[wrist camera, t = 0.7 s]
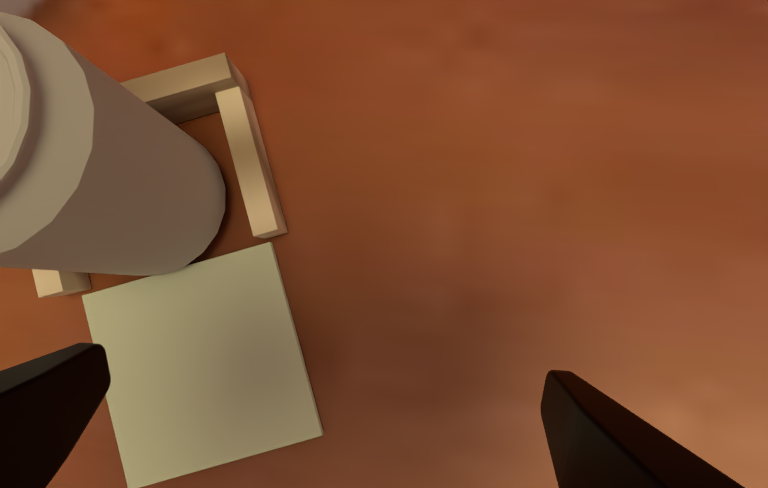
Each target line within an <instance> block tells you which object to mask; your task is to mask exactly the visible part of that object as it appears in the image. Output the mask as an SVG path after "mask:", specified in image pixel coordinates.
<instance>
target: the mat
mask: <svg viewBox="0 0 768 488" xmlns="http://www.w3.org/2000/svg"><path fill="white" fill-rule="evenodd" d="M82 299H83V303H84V307H85V311H86V316H87V320H88V324H89V328H90V332H91V336H92V340H93V343H95V344H101V345H102V346H103V347H104V348H105V351H106V355H107V361H108V366H109V371H110V376H111V383H110V387H109V389H108V391H107V393H106V398H107V403H108V407H109V411H110V415H111V419H112V423H113V427H114V432H115V436H116V440H117V444H118V448H119V452H120V456H121V461H122V465H123V469H124V473H125V477H126V481H127V485H128V488H140V487H143V486H147V485H150V484H154V483H157V482H161V481H164V480H168V479H171V478H175V477H178V476H182V475H185V474H189V473H192V472H196V471H200V470H203V469H207V468H210V467H214V466H217V465H221V464H224V463H228V462H231V461H235V460H238V459H242V458H245V457H249V456H252V455H256V454H259V453H263V452H266V451H270V450H273V449H277V448H281V447H284V446H288V445H291V444H295V443H298V442H302V441H305V440H309V439H312V438H316V437H319V436H322V435H323V433H324V432H323V429H322V425H321V421H320V418H319V414H318V410H317V407H316V403H315V399H314V395H313V392H312V388H311V384H310V381H309V377H308V373H307V370H306V366H305V362H304V358H303V355H302V351H301V347H300V344H299V340H298V336H297V332H296V329H295V325H294V321H293V318H292V314H291V310H290V307H289V303H288V299H287V295H286V292H285V288H284V284H283V281H282V277H281V273H280V270H279V266H278V262H277V258H276V255H275V251H274V247H273V244H272V242H268V243H264V244H261V245H257V246H254V247H250V248H247V249H244V250H240V251H237V252H233V253H230V254H226V255H223V256H219V257H216V258H212V259H209V260H205V261H202V262H198V263H195V264H191V265H188V266H185V267H183V268H180V269H177V270H174V271H171V272H168V273H166V274H163V275H153V276H149V277H146V278H142V279H139V280H135V281H132V282H128V283H125V284H121V285H118V286H114V287H111V288H107V289H104V290H100V291H97V292H93V293H90V294H86V295H83V296H82Z"/></svg>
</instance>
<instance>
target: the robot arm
mask: <svg viewBox="0 0 768 488" xmlns="http://www.w3.org/2000/svg"><path fill="white" fill-rule="evenodd" d="M110 383H111V376H110V371H109V366H108V361H107V355H106V351H105V348H104V347H103V346H102V345H101V344H95V343H78V344H75V345H72V346H70V347H67V348H64V349H61V350H58V351H56V352H53V353H50V354H47V355H44V356H42V357H39V358H36V359H33V360H30V361H28V362H25V363H22V364H19V365H16V366H14V367H11V368H8V369H5V370H2V371H0V488H46V486H47V485H48V484H49V482H50V481H51V480H52V478H53V477H54V476H55V474H56V473H57V471H58V470H59V469H60V467H61V466H62V464H63V463H64V462H65V460H66V459H67V457H68V456H69V454H70V452H71V451H72V449H73V448H74V446H75V444H76V443H77V441H78V439H79V438H80V436H81V435H82V433H83V431H84V430H85V428H86V426H87V425H88V423H89V421H90V420H91V418H92V416H93V415H94V413H95V411H96V410H97V408H98V406H99V405H100V403H101V401H102V400H103V398H104V397H105V395H106V393H107V391H108V389H109V387H110ZM541 417H542V421H543V425H544V429H545V433H546V437H547V441H548V446H549V450H550V454H551V458H552V462H553V466H554V470H555V474H556V478H557V482H558V486H559V488H745V487H743V486H742V485H740V484H739V483H737V482H736V481H734V480H733V479H731V478H730V477H728V476H727V475H725V474H724V473H722V472H721V471H719V470H718V469H716V468H715V467H713V466H712V465H710V464H709V463H707V462H706V461H704V460H703V459H701V458H700V457H698V456H697V455H695V454H694V453H692V452H691V451H689V450H688V449H686V448H685V447H683V446H682V445H680V444H679V443H677V442H676V441H674V440H673V439H671V438H670V437H668V436H667V435H665V434H664V433H662V432H661V431H659V430H658V429H656V428H655V427H653V426H652V425H650V424H649V423H647V422H646V421H644V420H643V419H641V418H640V417H638V416H637V415H635V414H634V413H632V412H631V411H629V410H628V409H626V408H625V407H623V406H622V405H620V404H619V403H617V402H616V401H614V400H613V399H611V398H610V397H608V396H607V395H605V394H604V393H602V392H601V391H599V390H598V389H596V388H595V387H593V386H592V385H590V384H589V383H587V382H586V381H584V380H583V379H581V378H580V377H578V376H577V375H575V374H574V373H572V372H570V371H561V370H551V371H549V372H548V374H547V376H546V380H545V385H544V391H543V396H542V401H541Z"/></svg>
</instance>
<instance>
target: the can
mask: <svg viewBox="0 0 768 488" xmlns="http://www.w3.org/2000/svg"><path fill="white" fill-rule="evenodd" d="M224 212H225V184H224V181H223V178H222V175H221V171H220V168H219V165H218V164H217V163H216V161H215V160H214V158H213V157H212V156H211V154H210V153H209V152H208V150H207V149H206V148H205V147H204V146H203V145H201V144H200V143H199V142H197V141H196V140H195V139H193V138H192V137H191V136H189V135H188V134H187V133H185V132H184V131H182V130H181V129H180V128H178V127H177V126H176V125H174V124H173V123H172V122H170V121H169V120H168V119H166V118H165V117H164V116H162V115H161V114H160V113H158V112H157V111H156V110H154V109H153V108H152V107H150V106H149V105H147V104H146V103H145V102H143V101H142V100H141V99H139V98H138V97H137V96H135V95H134V94H133V93H131V92H130V91H129V90H127V89H126V88H125V87H123V86H122V85H121V84H119V83H118V82H117V81H115V80H114V79H113V78H111V77H110V76H108V75H107V74H106V73H104V72H103V71H102V70H100V69H99V68H98V67H96V66H95V65H94V64H92V63H91V62H90V61H88V60H87V59H86V58H84V57H83V56H82V55H80V54H79V53H78V52H76V51H75V50H73V49H72V48H71V47H69V46H68V45H67V44H65V43H64V42H63V41H61V40H60V39H58V38H57V37H55V36H54V35H53V34H51V33H50V32H48V31H47V30H45V29H44V28H42V27H41V26H39V25H38V24H37V23H35V22H34V21H32V20H29V19H25V18H22V17H18V16H14V15H11V14H7V13H3V12H0V267H7V268H23V269H39V270H55V271H70V272H86V273H102V274H118V275H134V276H146V275H163V274H166V273H168V272H171V271H174V270H177V269H180V268H183V267H185V266H186V265H187V264H189V263H190V262H191V261H193V260H194V259H195V258H197V257H198V256H199V255H201V254H202V253H203V252H204V251H205V249H206V248H207V247H208V245H209V244H210V242H211V241H212V240H213V238H214V237H215V236H216V234H217V233H218V230H219V227H220V224H221V221H222V218H223V215H224Z"/></svg>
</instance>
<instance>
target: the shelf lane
mask: <svg viewBox="0 0 768 488" xmlns="http://www.w3.org/2000/svg"><path fill="white" fill-rule="evenodd" d="M119 84H121V85H122V86H123V87H125V88H126V89H127V90H129V91H130V92H131V93H133V94H134V95H135V96H137V97H138V98H139V99H141V100H142V101H143V102H145V103H146V104H147V105H149V106H150V107H152V108H153V109H154V110H156V111H157V112H158V113H160V114H161V115H162V116H164V117H165V118H166V119H168V120H169V121H170V122H172V123H173V124H177V123H181V122H184V121H188V120H191V119H195V118H198V117H202V116H205V115H209V114H212V113H215V112H219V111H220V113H221V117H222V121H223V125H224V128H225V132H226V136H227V140H228V143H229V147H230V151H231V155H232V158H233V162H234V166H235V169H236V173H237V177H238V181H239V184H240V188H241V192H242V196H243V199H244V203H245V207H246V211H247V214H248V218H249V222H250V226H251V229H252V233H253V236H255V237H259V238H264V239H267V238H271V237H274V236H278V235H281V234H285V233H288V231H287V228H286V224H285V220H284V216H283V213H282V209H281V205H280V202H279V198H278V194H277V191H276V187H275V183H274V180H273V176H272V172H271V169H270V165H269V161H268V158H267V154H266V150H265V147H264V143H263V139H262V136H261V132H260V128H259V125H258V121H257V117H256V114H255V110H254V106H253V103H252V99H251V95H250V92H249V88H248V84H247V81H246V79H245V78H244V77H243V76H242V74H241V73H240V72H239V70H238V69H237V68H236V67H235V65H234V64H233V63H232V61H231V60H230V59H229V58H228V56H227V55H226V54H225V53H222V54H219V55H215V56H212V57H208V58H205V59H201V60H198V61H194V62H191V63H187V64H184V65H180V66H177V67H174V68H170V69H167V70H163V71H160V72H156V73H153V74H149V75H146V76H142V77H139V78H135V79H132V80H129V81H125V82H122V83H119ZM32 271H33V276H34V280H35V284H36V288H37V293H38V297H39V298H41V297H53V296H65V295H72V294H75V293H79V292H82V291H86V290H89V289H92V287H91V283H90V279H89V275H88V273H86V272H70V271H55V270H39V269H32Z"/></svg>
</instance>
